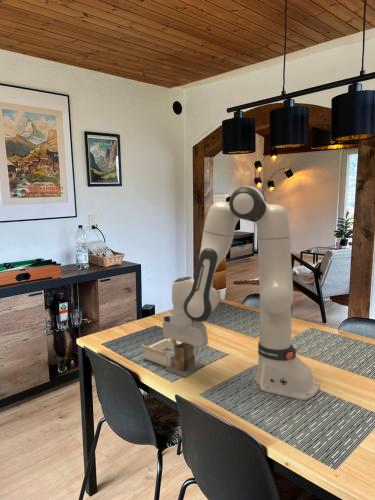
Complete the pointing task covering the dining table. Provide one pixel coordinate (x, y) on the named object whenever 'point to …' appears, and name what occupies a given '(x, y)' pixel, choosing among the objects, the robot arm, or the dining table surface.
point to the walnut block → (184, 356)
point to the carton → (160, 352)
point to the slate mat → (187, 372)
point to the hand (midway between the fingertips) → (185, 352)
